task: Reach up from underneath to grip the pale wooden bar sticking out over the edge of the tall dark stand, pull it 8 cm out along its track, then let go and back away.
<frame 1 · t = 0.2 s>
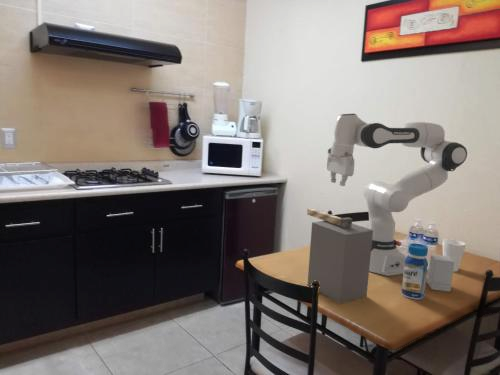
hand: (337, 184, 167), 39 cm above the table, tool pointing down, fingers open, 8 cm apart
supplement box: (438, 287, 161), on the table
foam cup: (450, 269, 182), on the table
beverage bottle: (412, 295, 152), on the table
stand: (336, 290, 153), on the table
bar: (327, 216, 155), point 28 cm above the table, slide at 0.0 cm
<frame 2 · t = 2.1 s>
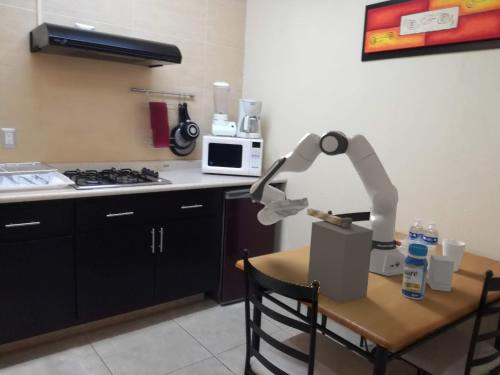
hand: (297, 200, 170), 31 cm above the table, tool pointing upward, fingers open, 8 cm apart
nothing on the table moved.
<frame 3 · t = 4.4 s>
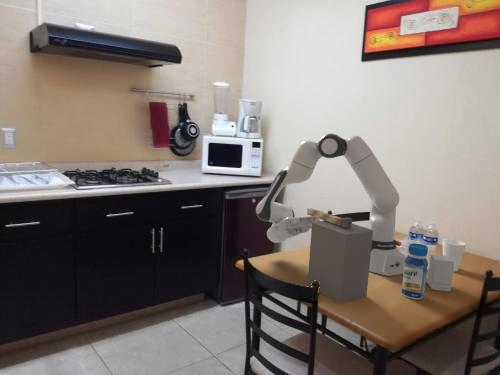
hand: (309, 218, 165), 25 cm above the table, tool pointing upward, fingers open, 8 cm apart
nothing on the table moved.
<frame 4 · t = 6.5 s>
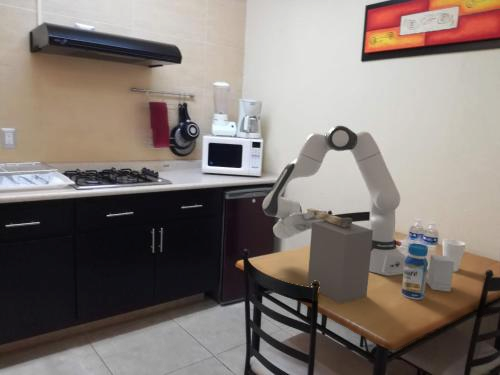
hand: (317, 213, 160), 28 cm above the table, tool pointing upward, fingers closed on bar, 2 cm apart
bar: (327, 216, 155), point 28 cm above the table, slide at 0.0 cm, touching gripper
everything else where it was.
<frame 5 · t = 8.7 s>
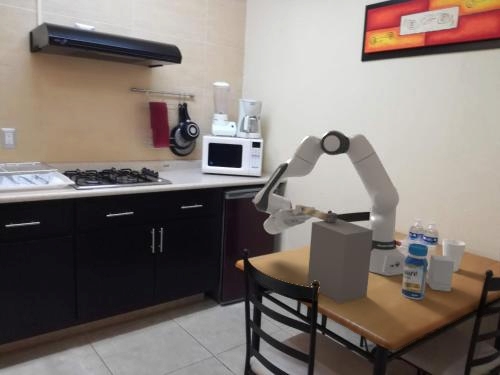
hand: (305, 209, 166), 28 cm above the table, tool pointing upward, fingers closed on bar, 2 cm apart
bar: (314, 212, 161), point 28 cm above the table, slide at 7.9 cm, touching gripper
everything else where it was.
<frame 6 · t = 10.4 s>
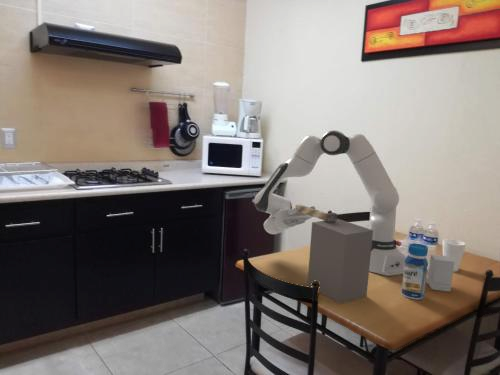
hand: (305, 209, 166), 28 cm above the table, tool pointing upward, fingers open, 8 cm apart
bar: (314, 212, 161), point 28 cm above the table, slide at 7.9 cm
everything else where it was.
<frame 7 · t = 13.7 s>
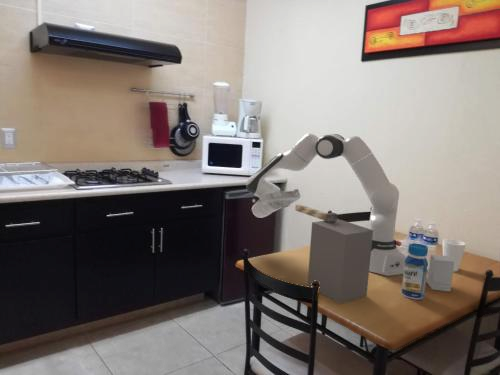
hand: (289, 191, 176), 33 cm above the table, tool pointing upward, fingers open, 8 cm apart
nothing on the table moved.
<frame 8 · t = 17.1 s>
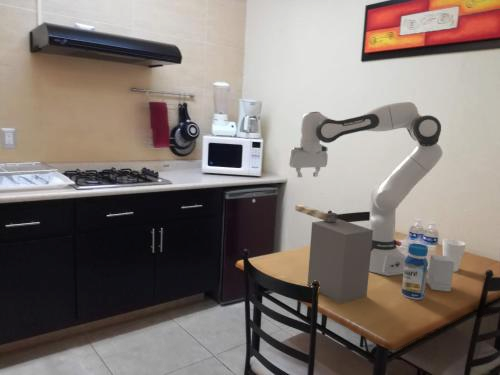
hand: (307, 176, 183), 39 cm above the table, tool pointing down, fingers open, 8 cm apart
nothing on the table moved.
at the end: bar slide at 7.9 cm; the gripper is holding nothing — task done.
